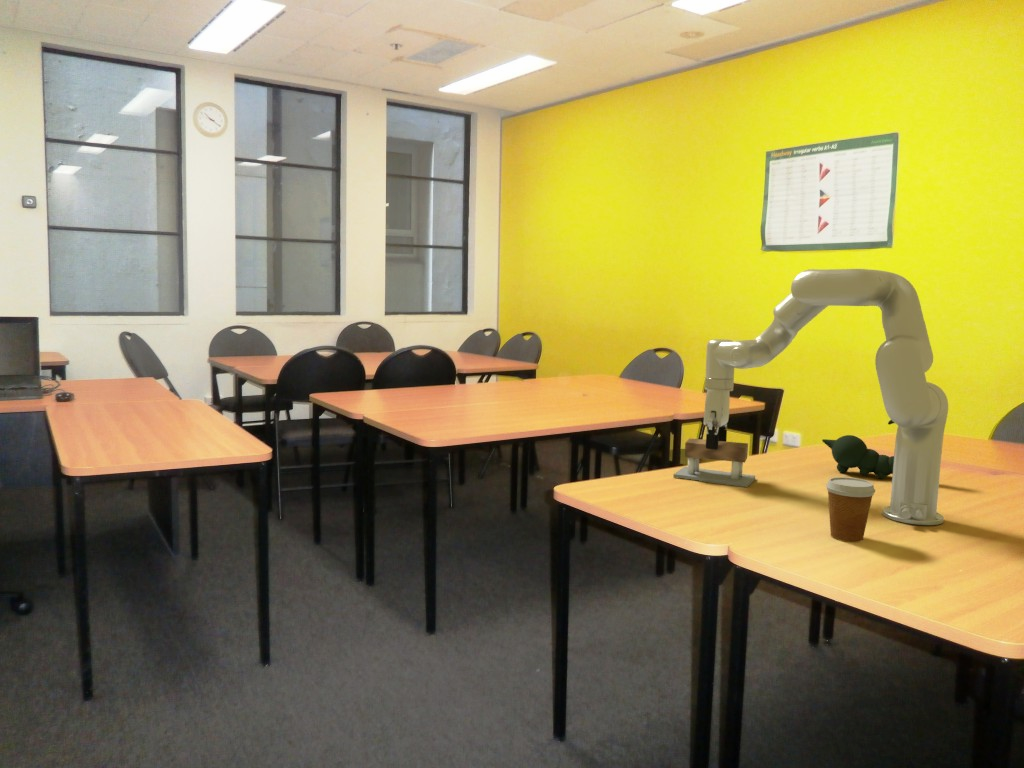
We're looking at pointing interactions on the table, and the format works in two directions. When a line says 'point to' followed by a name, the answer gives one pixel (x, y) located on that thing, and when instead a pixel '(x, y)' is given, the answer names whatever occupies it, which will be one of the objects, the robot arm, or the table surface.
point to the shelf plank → (724, 451)
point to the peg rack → (715, 474)
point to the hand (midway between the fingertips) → (716, 446)
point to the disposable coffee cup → (849, 507)
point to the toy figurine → (859, 456)
